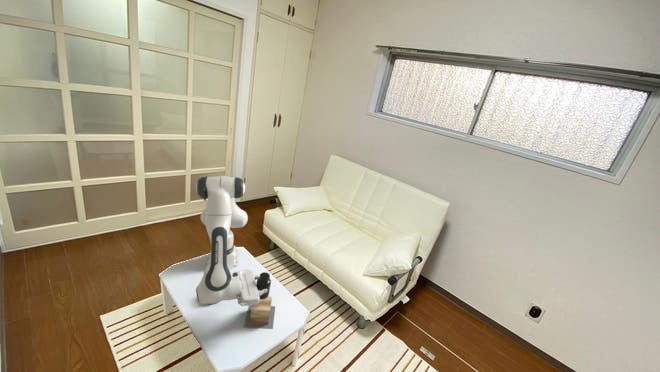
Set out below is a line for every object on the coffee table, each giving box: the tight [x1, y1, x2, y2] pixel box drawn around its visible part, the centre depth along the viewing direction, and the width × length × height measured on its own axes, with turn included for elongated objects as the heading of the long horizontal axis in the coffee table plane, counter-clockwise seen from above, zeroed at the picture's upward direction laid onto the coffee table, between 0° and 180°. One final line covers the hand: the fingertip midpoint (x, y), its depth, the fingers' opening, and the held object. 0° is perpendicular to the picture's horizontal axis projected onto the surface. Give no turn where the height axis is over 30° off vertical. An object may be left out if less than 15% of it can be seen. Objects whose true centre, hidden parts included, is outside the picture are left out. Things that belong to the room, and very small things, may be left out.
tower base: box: [250, 317, 269, 324], centre depth 136 cm, size 9×9×4 cm
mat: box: [243, 305, 276, 330], centre depth 137 cm, size 14×14×1 cm
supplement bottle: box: [256, 271, 272, 300], centre depth 129 cm, size 7×7×12 cm
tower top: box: [251, 296, 273, 318], centre depth 134 cm, size 9×9×4 cm
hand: (265, 283), depth 129 cm, fingers closed on supplement bottle, 7 cm apart
